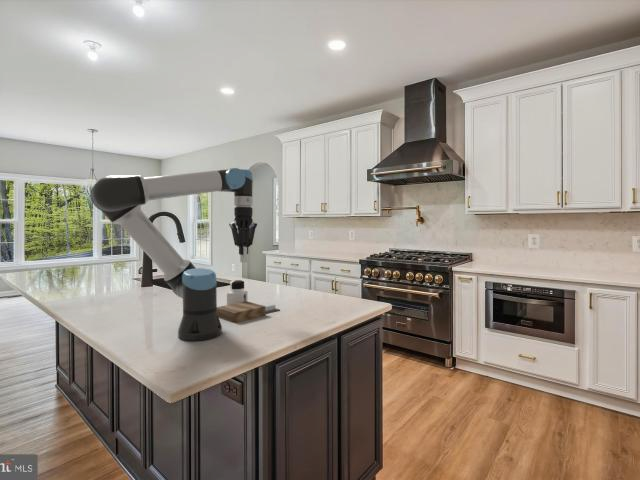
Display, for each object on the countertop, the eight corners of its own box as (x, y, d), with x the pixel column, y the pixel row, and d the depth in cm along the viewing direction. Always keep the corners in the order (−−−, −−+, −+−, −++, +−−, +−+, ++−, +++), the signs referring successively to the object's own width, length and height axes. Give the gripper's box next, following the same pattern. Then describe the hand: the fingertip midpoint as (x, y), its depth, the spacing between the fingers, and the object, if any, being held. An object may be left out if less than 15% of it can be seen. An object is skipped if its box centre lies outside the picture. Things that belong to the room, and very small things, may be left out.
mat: (262, 314, 159) (262, 313, 159) (249, 310, 166) (249, 309, 166) (279, 310, 167) (279, 309, 167) (266, 306, 173) (266, 306, 173)
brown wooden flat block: (234, 322, 146) (234, 313, 146) (215, 316, 156) (215, 307, 156) (265, 315, 158) (265, 306, 158) (246, 309, 168) (246, 301, 167)
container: (247, 306, 175) (247, 279, 174) (242, 310, 167) (242, 282, 167) (232, 305, 176) (232, 279, 175) (226, 309, 168) (226, 281, 167)
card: (260, 312, 161) (259, 308, 161) (251, 310, 165) (251, 306, 165) (275, 309, 167) (275, 304, 167) (267, 306, 172) (267, 302, 171)
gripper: (235, 205, 145) (235, 264, 146) (261, 207, 155) (261, 261, 156) (225, 206, 150) (225, 262, 151) (250, 207, 160) (250, 260, 161)
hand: (243, 262), depth 154 cm, fingers closed
